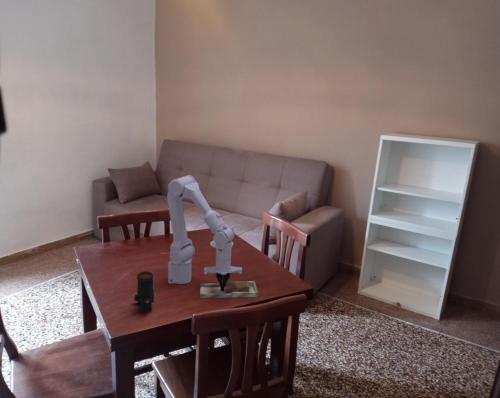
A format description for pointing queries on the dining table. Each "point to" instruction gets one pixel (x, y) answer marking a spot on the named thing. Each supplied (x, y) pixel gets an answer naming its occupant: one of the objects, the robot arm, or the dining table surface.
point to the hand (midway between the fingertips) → (222, 289)
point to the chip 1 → (231, 287)
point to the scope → (145, 291)
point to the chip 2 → (243, 286)
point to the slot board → (215, 291)
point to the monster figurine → (215, 244)
